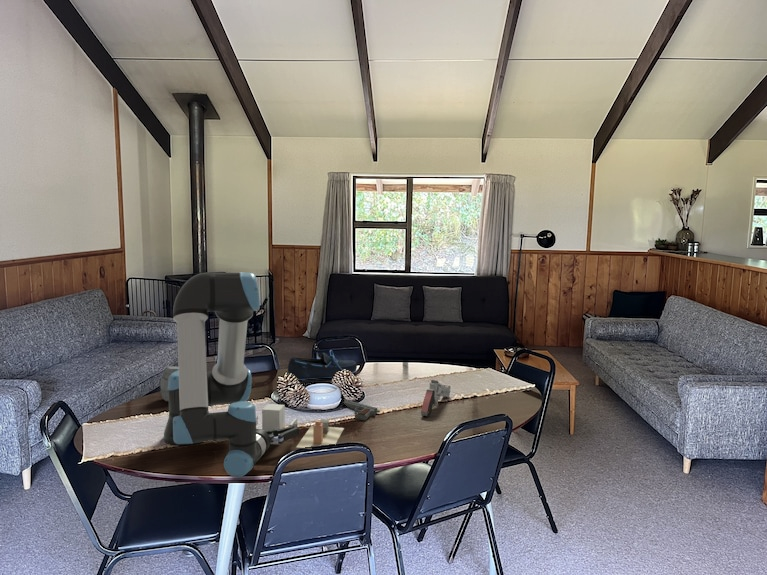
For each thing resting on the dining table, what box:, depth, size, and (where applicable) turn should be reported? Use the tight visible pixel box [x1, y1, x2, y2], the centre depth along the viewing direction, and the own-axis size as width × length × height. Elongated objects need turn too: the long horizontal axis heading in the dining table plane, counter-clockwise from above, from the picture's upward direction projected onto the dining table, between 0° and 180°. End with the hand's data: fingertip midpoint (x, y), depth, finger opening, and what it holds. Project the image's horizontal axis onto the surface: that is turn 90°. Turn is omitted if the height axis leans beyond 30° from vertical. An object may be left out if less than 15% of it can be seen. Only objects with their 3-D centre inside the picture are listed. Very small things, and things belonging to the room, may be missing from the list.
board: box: [296, 419, 345, 449], centre depth 194 cm, size 20×12×5 cm, turn 173°
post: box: [312, 419, 323, 444], centre depth 189 cm, size 3×3×7 cm
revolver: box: [420, 379, 451, 418], centre depth 233 cm, size 4×29×15 cm, turn 157°
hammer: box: [159, 365, 256, 402], centre depth 245 cm, size 13×8×40 cm
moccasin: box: [287, 349, 358, 381], centre depth 275 cm, size 14×34×12 cm, turn 121°
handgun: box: [342, 400, 381, 422], centre depth 224 cm, size 3×18×12 cm
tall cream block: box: [261, 403, 286, 445], centre depth 190 cm, size 6×6×13 cm
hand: (276, 420), depth 193 cm, fingers open, 13 cm apart
